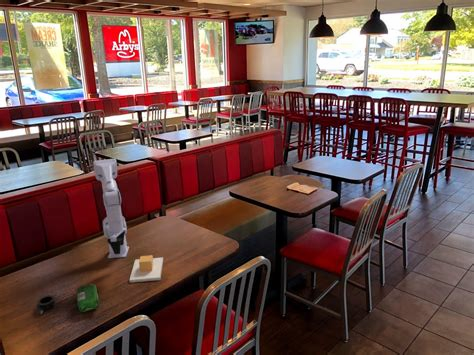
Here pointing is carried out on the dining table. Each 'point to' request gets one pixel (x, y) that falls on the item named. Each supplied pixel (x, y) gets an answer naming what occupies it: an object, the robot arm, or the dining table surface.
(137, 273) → the post plate
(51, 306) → the duct tape
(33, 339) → the dining table surface
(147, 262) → the tan wooden block
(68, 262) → the dining table surface
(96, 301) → the snack package
